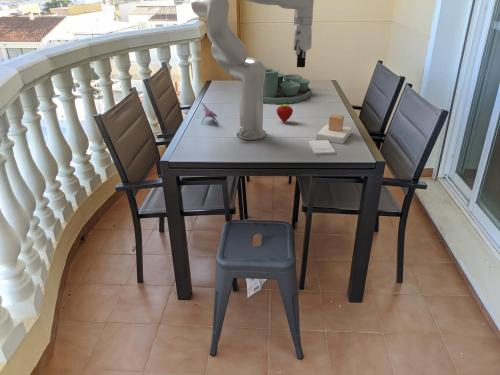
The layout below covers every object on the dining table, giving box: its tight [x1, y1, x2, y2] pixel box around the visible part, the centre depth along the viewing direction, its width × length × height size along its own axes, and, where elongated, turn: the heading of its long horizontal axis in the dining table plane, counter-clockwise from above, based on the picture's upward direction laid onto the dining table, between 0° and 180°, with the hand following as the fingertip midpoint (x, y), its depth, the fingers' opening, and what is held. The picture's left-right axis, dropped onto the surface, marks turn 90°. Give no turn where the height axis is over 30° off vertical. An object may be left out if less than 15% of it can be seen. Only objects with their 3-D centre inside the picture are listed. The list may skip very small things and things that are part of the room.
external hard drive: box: [308, 140, 337, 156], centre depth 158 cm, size 2×8×12 cm
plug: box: [328, 114, 345, 131], centre depth 169 cm, size 4×5×8 cm
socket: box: [315, 123, 353, 145], centre depth 169 cm, size 14×11×2 cm
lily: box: [199, 100, 219, 125], centre depth 185 cm, size 12×12×10 cm
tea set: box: [241, 66, 312, 105], centre depth 227 cm, size 40×40×16 cm
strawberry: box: [276, 103, 294, 123], centre depth 184 cm, size 6×8×10 cm
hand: (300, 66), depth 174 cm, fingers closed
